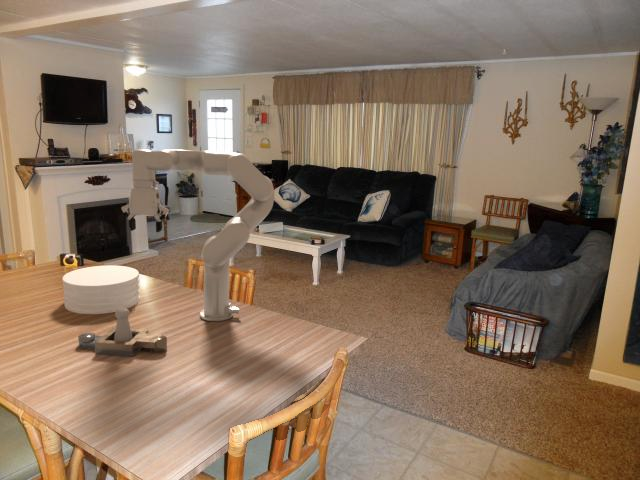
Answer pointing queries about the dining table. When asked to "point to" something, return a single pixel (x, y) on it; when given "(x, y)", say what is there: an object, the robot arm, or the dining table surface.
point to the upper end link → (133, 341)
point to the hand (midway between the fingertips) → (145, 230)
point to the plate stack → (101, 289)
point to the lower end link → (89, 343)
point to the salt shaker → (122, 326)
